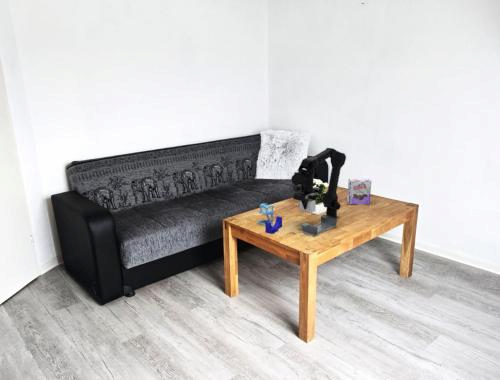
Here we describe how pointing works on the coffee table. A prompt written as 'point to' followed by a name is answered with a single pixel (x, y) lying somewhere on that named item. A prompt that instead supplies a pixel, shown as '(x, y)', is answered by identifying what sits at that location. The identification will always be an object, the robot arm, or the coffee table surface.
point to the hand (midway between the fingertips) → (307, 208)
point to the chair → (266, 213)
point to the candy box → (359, 191)
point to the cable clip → (275, 227)
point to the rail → (319, 226)
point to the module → (309, 206)
